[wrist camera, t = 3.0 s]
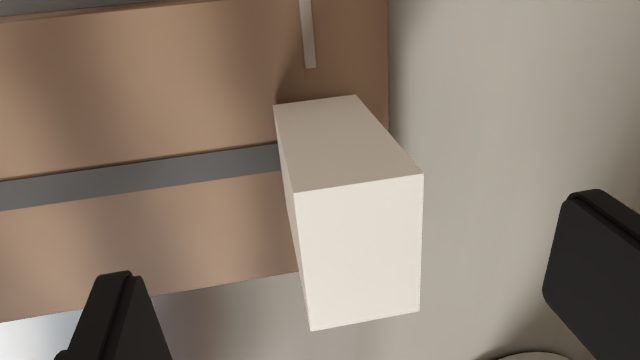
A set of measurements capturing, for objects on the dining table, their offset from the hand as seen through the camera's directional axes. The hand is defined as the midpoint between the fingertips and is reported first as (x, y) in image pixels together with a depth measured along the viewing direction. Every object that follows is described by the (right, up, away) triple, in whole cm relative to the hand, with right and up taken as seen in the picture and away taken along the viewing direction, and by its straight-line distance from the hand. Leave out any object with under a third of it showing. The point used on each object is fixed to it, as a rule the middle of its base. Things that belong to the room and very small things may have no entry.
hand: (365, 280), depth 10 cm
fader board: (-9, +4, +10) cm, 14 cm away
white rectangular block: (-1, +3, +8) cm, 9 cm away
